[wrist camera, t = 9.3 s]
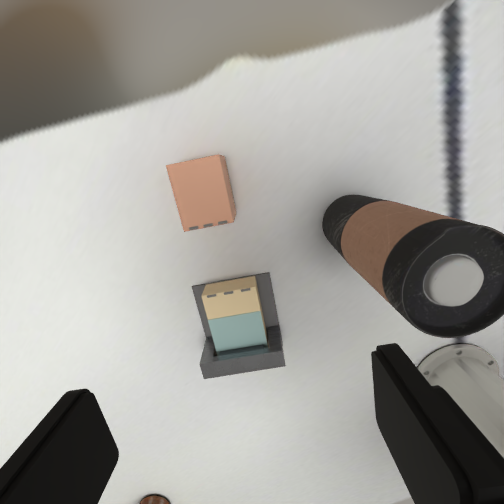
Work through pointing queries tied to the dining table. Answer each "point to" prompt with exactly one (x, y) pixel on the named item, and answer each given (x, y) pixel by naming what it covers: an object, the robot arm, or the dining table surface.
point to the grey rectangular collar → (242, 357)
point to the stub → (202, 192)
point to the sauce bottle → (154, 500)
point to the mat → (265, 299)
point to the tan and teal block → (235, 314)
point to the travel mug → (422, 262)
